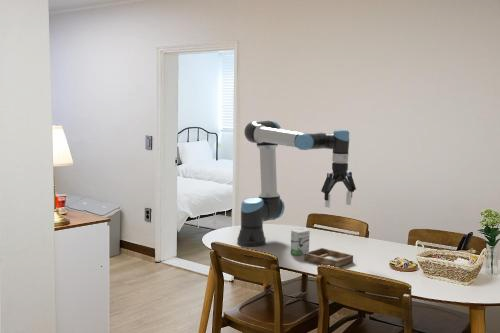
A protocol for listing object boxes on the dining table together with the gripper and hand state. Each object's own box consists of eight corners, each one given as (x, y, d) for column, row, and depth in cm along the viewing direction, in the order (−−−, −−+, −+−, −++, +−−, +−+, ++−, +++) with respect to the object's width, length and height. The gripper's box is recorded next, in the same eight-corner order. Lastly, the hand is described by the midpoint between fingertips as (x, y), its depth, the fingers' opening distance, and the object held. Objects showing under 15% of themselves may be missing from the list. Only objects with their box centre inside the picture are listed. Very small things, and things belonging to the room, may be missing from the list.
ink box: (296, 256, 258) (297, 232, 257) (289, 253, 262) (290, 230, 261) (309, 253, 264) (310, 230, 262) (302, 250, 267) (303, 228, 266)
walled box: (304, 260, 251) (304, 253, 251) (321, 254, 261) (321, 247, 261) (336, 268, 239) (336, 261, 238) (352, 262, 249) (353, 255, 249)
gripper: (325, 164, 243) (323, 209, 246) (364, 162, 256) (362, 204, 259) (314, 162, 249) (313, 206, 252) (353, 160, 263) (351, 202, 265)
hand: (338, 205), depth 256 cm, fingers open, 13 cm apart
